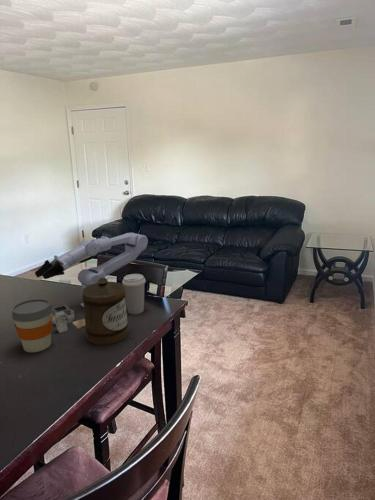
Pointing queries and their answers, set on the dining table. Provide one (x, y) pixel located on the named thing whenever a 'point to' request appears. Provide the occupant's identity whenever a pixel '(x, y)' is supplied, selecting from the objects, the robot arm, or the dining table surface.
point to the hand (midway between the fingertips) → (39, 275)
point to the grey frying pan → (70, 318)
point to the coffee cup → (134, 292)
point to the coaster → (79, 323)
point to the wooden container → (105, 312)
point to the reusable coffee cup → (33, 324)
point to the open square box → (61, 309)
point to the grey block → (61, 321)
